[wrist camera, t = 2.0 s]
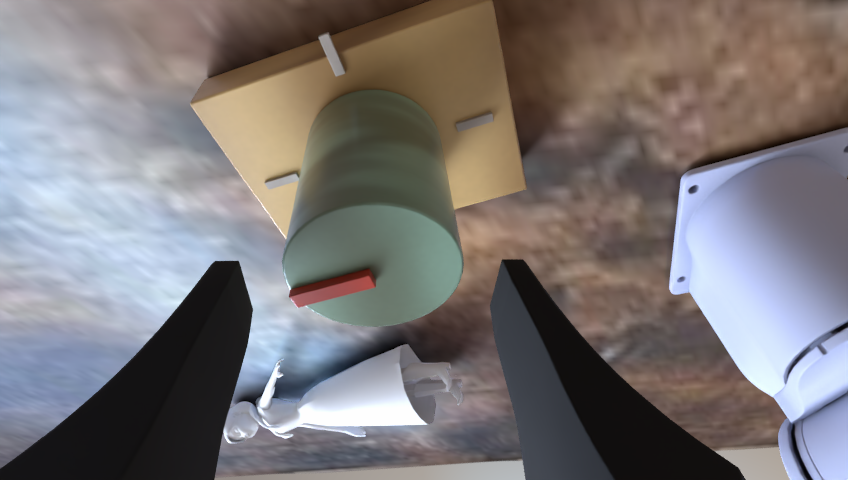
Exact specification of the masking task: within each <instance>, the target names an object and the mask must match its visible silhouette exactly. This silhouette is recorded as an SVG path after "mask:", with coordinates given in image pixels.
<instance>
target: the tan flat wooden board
mask: <svg viewBox="0 0 848 480" xmlns="http://www.w3.org/2000/svg"><path fill="white" fill-rule="evenodd" d="M318 38H319V40H317V41H314V42H311V43H308V44H305V45H303V46H300V47H297V48H294V49H291V50H288V51H286V52H283V53H280V54H277V55H274V56H271V57H268V58H266V59H263V60H260V61H257V62H254V63H251V64H248V65H246V66H243V67H240V68H237V69H234V70H231V71H228V72H226V73H223V74H220V75H217V76H214V77H211V78H208V79H206V80H204V82H203V83H202V85H201V86H200V88H199V89H198V91H197V93H196V94H195V96H194V97H193V99H192V100H191V102H190V105H191V107H192V108H193V110H194V111H195V112H196V114H197V115H198V117H199V118H200V119H201V121H202V122H203V124H204V125H205V126H206V128H207V129H208V131H209V132H210V133H211V135H212V136H213V138H214V139H215V140H216V142H217V143H218V145H219V146H220V147H221V149H222V150H223V152H224V153H225V154H226V156H227V157H228V159H229V160H230V161H231V163H232V164H233V166H234V167H235V168H236V170H237V171H238V173H239V174H240V175H241V177H242V178H243V180H244V181H245V182H246V184H247V185H248V187H249V188H250V189H251V191H252V192H253V194H254V195H255V196H256V198H257V199H258V201H259V202H260V204H261V205H262V206H263V208H264V209H265V211H266V212H267V213H268V215H269V216H270V218H271V219H272V220H273V222H274V223H275V225H276V226H277V227H278V229H279V230H280V232H281V233H282V234H283V236H284V237H285V239H287V234H288V229H289V224H290V220H291V215H292V210H293V205H294V201H295V196H296V191H297V186H298V182H299V177H300V172H301V167H302V163H303V158H304V153H305V149H306V144H307V139H308V134H309V131H310V128H311V126H312V124H313V122H314V120H315V118H316V117H317V115H318V114H319V113H320V112H321V111H322V110H323V109H324V108H325V107H326V106H327V105H328V104H329V103H331V102H332V101H334V100H335V99H337V98H339V97H341V96H343V95H346V94H348V93H352V92H356V91H361V90H385V91H390V92H394V93H397V94H400V95H402V96H405V97H407V98H409V99H410V100H412V101H414V102H415V103H417V104H418V105H419V106H421V107H422V108H423V109H424V110H425V111H426V112H427V113H428V114H429V116H430V117H431V118H432V120H433V121H434V123H435V125H436V127H437V129H438V132H439V135H440V139H441V144H442V149H443V154H444V159H445V164H446V170H447V175H448V180H449V185H450V190H451V196H452V201H453V206H454V209H457V208H461V207H464V206H468V205H471V204H475V203H479V202H482V201H486V200H489V199H493V198H496V197H500V196H504V195H507V194H511V193H514V192H518V191H522V190H525V189H526V188H527V185H526V179H525V174H524V168H523V163H522V157H521V152H520V146H519V141H518V136H517V130H516V125H515V119H514V114H513V108H512V103H511V97H510V92H509V86H508V81H507V75H506V70H505V64H504V59H503V53H502V48H501V42H500V37H499V31H498V26H497V21H496V15H495V10H494V4H493V0H431V1H428V2H425V3H423V4H420V5H417V6H414V7H411V8H408V9H405V10H403V11H400V12H397V13H394V14H391V15H388V16H385V17H383V18H380V19H377V20H374V21H371V22H368V23H365V24H363V25H360V26H357V27H354V28H351V29H348V30H345V31H343V32H340V33H337V34H334V35H331V36H330V34H329V32H327V33H324V34H321V35H319V36H318Z"/></svg>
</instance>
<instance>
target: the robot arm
mask: <svg viewBox="0 0 848 480" xmlns="http://www.w3.org/2000/svg"><path fill="white" fill-rule="evenodd" d="M847 176H848V127H846V128H843V129H839V130H835V131H831V132H828V133H824V134H820V135H817V136H813V137H809V138H806V139H802V140H798V141H795V142H791V143H787V144H783V145H780V146H776V147H772V148H769V149H765V150H761V151H758V152H754V153H750V154H747V155H743V156H739V157H736V158H732V159H728V160H724V161H721V162H717V163H713V164H710V165H706V166H702V167H699V168H695V169H692V170H689V171H687V172H686V173H685V174H684V175H683V176H682V178H681V182H680V191H679V201H678V210H677V219H676V228H675V237H674V246H673V255H672V265H671V274H670V283H669V289H670V291H671V292H672V293H673V294H676V295H677V294H683V293H687V292H690V293H691V295H692V296H693V298H694V299H695V301H696V303H697V304H698V306H699V307H700V309H701V310H702V312H703V313H704V315H705V317H706V318H707V320H708V321H709V323H710V324H711V326H712V327H713V329H714V331H715V332H716V334H717V335H718V337H719V338H720V340H721V341H722V343H723V344H724V346H725V348H726V349H727V351H728V352H729V354H730V355H731V357H732V358H733V360H734V362H735V363H736V365H737V366H738V368H739V369H740V370H741V372H742V373H743V374H744V375H745V377H746V378H747V379H748V380H749V381H750V382H752V383H753V384H754V385H755V386H756V387H758V388H759V389H761V390H762V391H764V392H765V393H767V394H768V395H770V396H772V397H774V398H775V400H776V401H777V403H778V404H779V406H780V407H781V409H782V410H783V411H784V413H785V414H786V416H787V417H788V418H787V419H785V421H784V422H783V424H782V425H781V427H780V430H779V434H778V443H779V449H780V454H781V457H782V460H783V463H784V466H785V468H786V471H787V474H788V476H789V479H790V480H848V179H847ZM692 186H693V187H692ZM690 187H692V188H690ZM689 188H690V189H689ZM490 310H491V317H492V325H493V331H494V338H495V342H496V346H497V350H498V354H499V358H500V361H501V365H502V369H503V372H504V376H505V380H506V384H507V387H508V391H509V395H510V398H511V402H512V406H513V410H514V414H515V418H516V423H517V428H518V434H519V440H520V446H521V452H522V458H523V465H524V472H525V479H526V480H746V479H745V478H744V476H743V475H742V473H741V472H740V470H739V468H738V467H736V466H735V465H733V464H732V463H730V462H729V461H728V460H726V459H725V458H723V457H722V456H720V455H719V454H717V453H716V452H714V451H713V450H712V449H710V448H709V447H707V446H706V445H704V444H703V443H701V442H700V441H698V440H697V439H696V438H694V437H693V436H691V435H690V434H689V433H688V432H686V431H685V430H684V429H682V428H681V427H680V426H678V425H677V424H676V423H674V422H673V421H672V420H670V419H669V418H668V417H667V416H665V415H664V414H663V413H662V412H661V411H659V410H658V409H657V408H656V407H655V406H653V405H652V404H651V403H650V402H649V401H648V400H646V399H645V398H644V397H643V396H642V395H640V394H639V393H638V392H637V391H636V390H635V389H633V388H632V387H631V386H630V385H629V384H628V383H627V382H626V381H625V380H624V379H623V378H622V377H620V376H619V375H618V374H617V373H616V372H615V371H614V370H613V369H612V368H611V367H610V366H609V365H608V364H607V363H606V362H605V361H604V360H603V359H602V358H601V357H600V355H599V354H598V353H597V352H596V351H595V350H594V349H593V348H592V347H591V346H590V345H589V343H588V342H587V341H586V340H585V339H584V338H583V337H582V336H581V334H580V333H579V332H578V331H577V330H576V329H575V327H574V326H573V325H572V324H571V323H570V321H569V320H568V319H567V318H566V316H565V315H564V314H563V312H562V311H561V310H560V309H559V307H558V306H557V305H556V304H555V302H554V301H553V300H552V298H551V297H550V296H549V294H548V293H547V292H546V290H545V289H544V288H543V286H542V285H541V283H540V282H539V281H538V279H537V278H536V276H535V275H534V274H533V272H532V271H531V269H530V268H529V266H528V265H527V264H526V262H525V261H524V260H502V262H501V265H500V269H499V273H498V277H497V281H496V285H495V288H494V292H493V296H492V300H491V304H490ZM252 312H253V308H252V305H251V301H250V298H249V294H248V291H247V288H246V284H245V281H244V277H243V274H242V270H241V267H240V264H239V261H215V262H214V263H213V264H212V265H211V266H210V267H209V268H208V270H207V271H206V272H205V274H204V275H203V276H202V278H201V279H200V280H199V281H198V283H197V284H196V285H195V287H194V288H193V289H192V290H191V292H190V293H189V294H188V295H187V297H186V298H185V299H184V300H183V302H182V303H181V304H180V305H179V307H178V308H177V309H176V310H175V311H174V312H173V314H172V315H171V316H170V317H169V318H168V320H167V321H166V322H165V323H164V324H163V326H162V327H161V328H160V329H159V330H158V331H157V332H156V333H155V334H154V336H153V337H152V338H151V339H150V340H149V341H148V342H147V343H146V344H145V345H144V346H143V347H142V349H141V350H140V351H139V352H138V353H137V354H136V355H135V356H134V357H133V358H132V359H131V360H130V361H129V362H128V363H127V364H126V365H125V366H124V367H123V368H122V369H121V370H120V371H119V372H118V373H117V374H116V375H115V376H114V377H113V378H112V379H111V380H110V381H109V382H107V383H106V384H105V385H104V386H103V387H102V388H101V389H100V390H99V391H98V392H97V393H95V394H94V395H93V396H92V397H91V398H90V399H89V400H87V401H86V402H85V403H84V404H83V405H82V406H81V407H79V408H78V409H77V410H76V411H75V412H74V413H72V414H71V415H70V416H69V417H68V418H66V419H65V420H64V421H63V422H62V423H60V424H59V425H58V426H57V427H55V428H54V429H53V430H52V431H50V432H49V433H48V434H46V435H45V436H44V437H42V438H41V439H40V440H38V441H37V442H36V443H34V444H33V445H32V446H31V447H29V448H28V449H27V450H25V451H24V452H23V453H21V454H20V455H19V456H17V457H16V458H15V459H13V460H12V461H11V462H9V463H8V464H6V465H5V466H4V467H2V468H1V469H0V480H214V478H215V472H216V467H217V461H218V456H219V450H220V444H221V439H222V434H223V430H224V426H225V422H226V418H227V415H228V411H229V408H230V404H231V401H232V397H233V394H234V391H235V387H236V384H237V380H238V377H239V373H240V370H241V366H242V363H243V359H244V355H245V352H246V348H247V344H248V339H249V333H250V326H251V319H252Z"/></svg>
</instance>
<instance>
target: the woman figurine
mask: <svg viewBox="0 0 848 480" xmlns="http://www.w3.org/2000/svg"><path fill="white" fill-rule="evenodd" d="M282 361H284V359H282V360H279V361H278V362H277V363H276V366H275V368H274V370H273V373H272V375H271V378H270V380H269V382H268V384H267V385H266V388H265V390H264V393H263V396H262V397H259V398H257V400H256V406H257V408H256V407H255V406H254V405H253V404H252V403H249V402H247V401H243V402H239V403H238V404H236V405H235V406H233V407H232V408H231V409H230V410H229V411H228V415H227V418H226V422H225V426H224V430H223V432H224V433H225V434H224V435H225V438H226V440H227V441H228V443H241V442H244V441H245V440H246V439H248V437H253V436H254V435H255V434H256V432H257V430H258V424H261V425H262V426H263V427H264V428H267V429H270V430H271V431H272V432H273V433H274V434H275V435H277V436H280V437H281V436H282V437H283V438H289V437H291V436H293V435H292V434H280V433H286V432H288V431H290V430H292V429H294V428H296V427H298V426H302V427H309V428H314V429H319V430H330V431H337V432H344V433H347V434H349V435H351V436H357V437H360V436H364V437H365V435H362V434H366V432H361V431H365V430H362V429H363V428H364V427H356V426H384V425H428V424H430V423H432V422H433V420H434V414H435V408H436V403H435V397H434V394H438V393H443V392H448V391H450V392H451V393H452V394H453V395H454V396H455V397H456V399H457V400H458V401H457V404H458V405H460V404H461V403H462V402H463V394H462V392H461V390H460V387H461V386H462V380H461V379H452V378H451V376H450V374H449V372H448V370H450V369H451V366H450V363H447V362H439V363H422V362H421V361H420V360H419V359H418V357H417V356H416V355H415V353H414V352H413V350H412V349H411V348H410V346H409V345H408V344H405V345H401V346H399V347H397V348H395V349H392V350H390V351H388V352H385V353H382V354H380V355H377V356H375V357H372V358H369V359H367V360H364V361H362V362H360V363H358V364H356V365H354V366H352V367H350V368H348V369H346V370H344V371H342V372H340V373H338V374H336V375H334V376H332V377H330V378H328V379H326V380H324V381H322V382H320V383H318V384H317V385H316V386H315V387H313V388H312V389H311V390H309V391H308V392H307V393H306V394H305V395H304V396H303V397H302V399H301V400H300V401H299V402H292V401H286V400H282V399H277V398H272V396H273V394H274V391H275V384H276V383H275V382H276V379H277V377H278V378H279V377H281V376H282V375H283V373H280V362H282ZM435 376H439V377H440V378H441V380H431V379H430V377H435Z"/></svg>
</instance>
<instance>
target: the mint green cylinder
mask: <svg viewBox="0 0 848 480" xmlns="http://www.w3.org/2000/svg"><path fill="white" fill-rule="evenodd" d="M463 266H464V262H463V253H462V248H461V243H460V237H459V232H458V227H457V222H456V217H455V211H454V206H453V201H452V196H451V190H450V185H449V180H448V175H447V170H446V164H445V159H444V154H443V149H442V144H441V139H440V135H439V132H438V129H437V127H436V125H435V123H434V121H433V120H432V118H431V117H430V116H429V114H428V113H427V112H426V111H425V110H424V109H423V108H422V107H421V106H419V105H418V104H417V103H415V102H414V101H412V100H410V99H409V98H407V97H405V96H402V95H400V94H397V93H394V92H390V91H385V90H361V91H356V92H352V93H348V94H346V95H343V96H341V97H339V98H337V99H335V100H334V101H332V102H331V103H329V104H328V105H327V106H326V107H325V108H324V109H323V110H322V111H321V112H320V113H319V114H318V115H317V117H316V118H315V120H314V122H313V124H312V126H311V128H310V131H309V134H308V139H307V144H306V149H305V153H304V158H303V163H302V167H301V172H300V177H299V182H298V186H297V191H296V196H295V201H294V205H293V210H292V215H291V220H290V224H289V229H288V234H287V239H286V243H285V248H284V253H283V260H282V267H283V273H284V277H285V280H286V282H287V285H288V287H289V288H290V294H289V298H290V299H291V300H292V301H293V303H294V304H295V305H296V306H297V307H298V308H299V307H302V306H306V307H307V308H309V309H310V310H312V311H314V312H315V313H317V314H319V315H321V316H323V317H325V318H328V319H331V320H333V321H337V322H340V323H344V324H349V325H355V326H367V327H378V326H390V325H396V324H401V323H405V322H408V321H412V320H415V319H417V318H420V317H422V316H424V315H426V314H428V313H430V312H432V311H433V310H435V309H436V308H438V307H439V306H440V305H442V304H443V303H444V302H445V301H446V300H447V299H448V298H449V297H450V296H451V295H452V294H453V292H454V291H455V289H456V288H457V286H458V284H459V282H460V279H461V276H462V273H463Z"/></svg>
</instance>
